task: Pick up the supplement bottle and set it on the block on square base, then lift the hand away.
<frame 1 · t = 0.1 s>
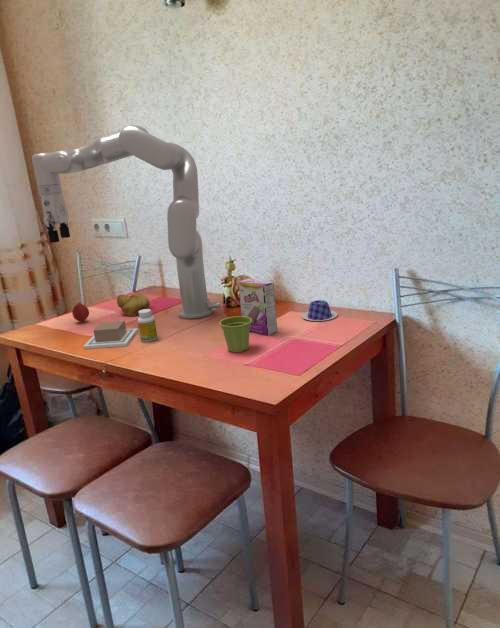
hand: (60, 239, 180), 31 cm above the table, fingers open, 9 cm apart
plant pot: (238, 349, 149), on the table
block on square base: (111, 339, 167), on the table
olive yellow lumpy piece: (138, 312, 196), on the table
red round fruit: (82, 322, 190), on the table
candy bar box: (260, 331, 162), on the table
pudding: (319, 317, 171), on the table
supplement bottle: (149, 339, 165), on the table
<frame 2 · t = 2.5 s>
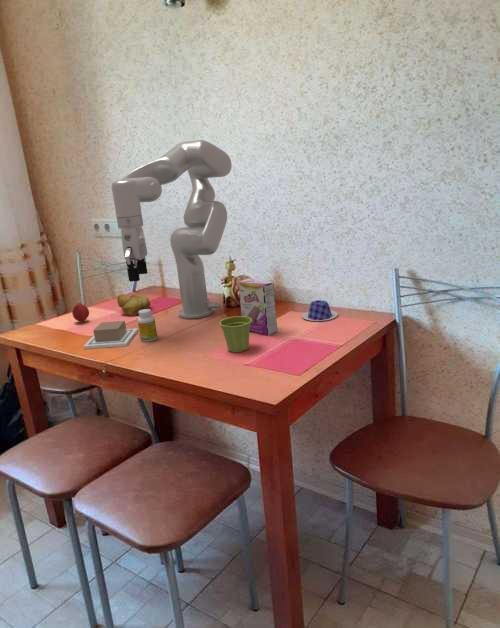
hand: (138, 277, 158), 21 cm above the table, fingers open, 9 cm apart
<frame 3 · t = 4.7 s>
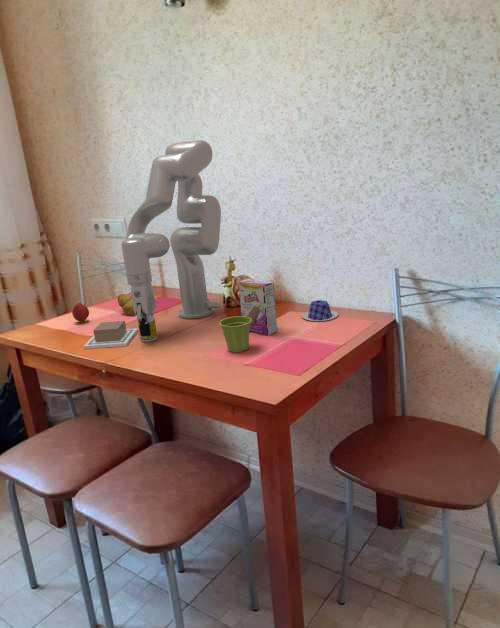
hand: (148, 331, 164), 2 cm above the table, fingers closed on supplement bottle, 5 cm apart
supplement bottle: (149, 339, 165), on the table, touching gripper
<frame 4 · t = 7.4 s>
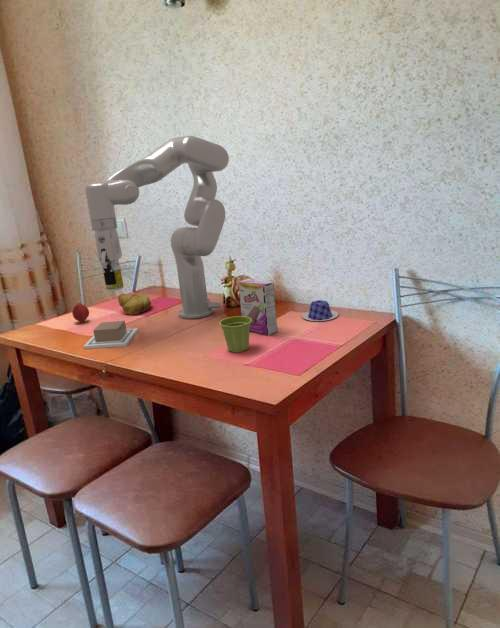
hand: (113, 281, 160), 20 cm above the table, fingers closed on supplement bottle, 5 cm apart
supplement bottle: (115, 289, 161), point 17 cm above the table, touching gripper
when the fingers open (8 cm above the table, at t = 10.2 s): supplement bottle stays where it is, resting on block on square base.
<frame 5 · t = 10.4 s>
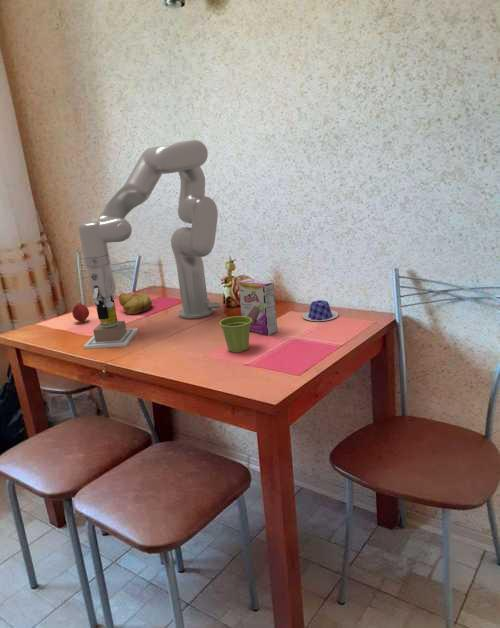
hand: (107, 314, 165), 9 cm above the table, fingers open, 6 cm apart
supplement bottle: (109, 325, 166), point 5 cm above the table, touching block on square base
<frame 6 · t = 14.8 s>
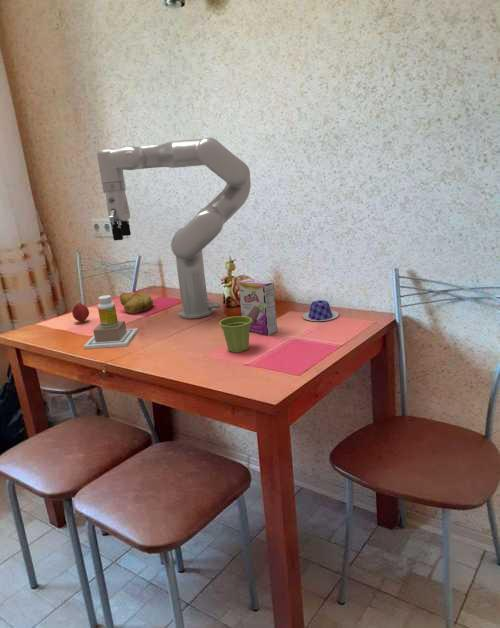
hand: (122, 237, 177), 30 cm above the table, fingers open, 9 cm apart
at the end: supplement bottle 0.1 cm off-centre on the block on square base, point 4.8 cm above the block on square base's base; supplement bottle tilted 0°; the gripper is holding nothing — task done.
